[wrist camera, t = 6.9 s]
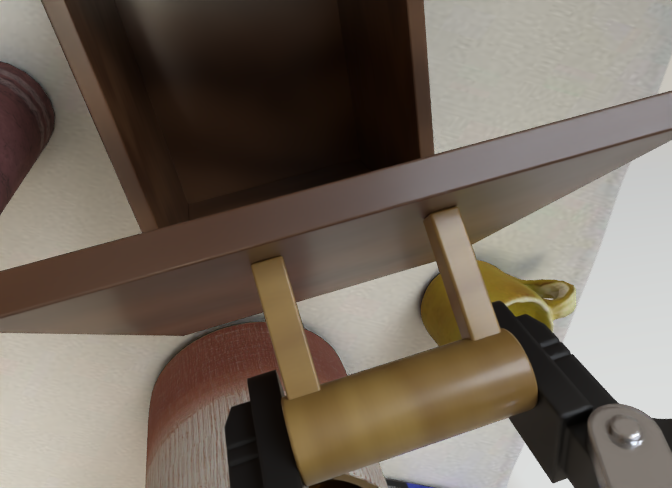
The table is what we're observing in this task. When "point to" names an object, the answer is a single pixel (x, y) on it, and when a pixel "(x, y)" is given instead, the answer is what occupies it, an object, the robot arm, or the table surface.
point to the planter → (222, 407)
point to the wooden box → (246, 95)
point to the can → (21, 127)
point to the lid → (348, 281)
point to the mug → (503, 288)
